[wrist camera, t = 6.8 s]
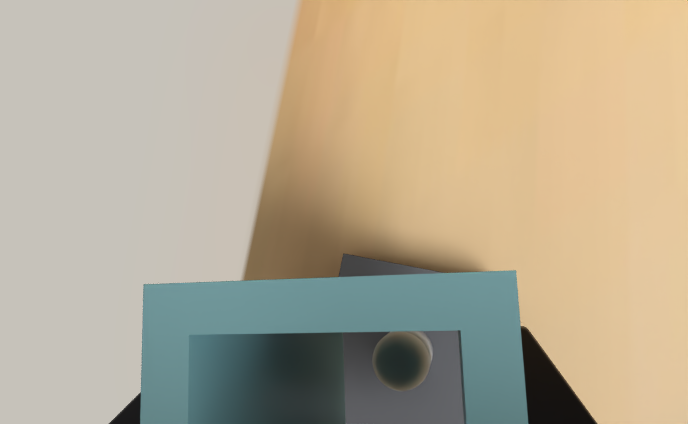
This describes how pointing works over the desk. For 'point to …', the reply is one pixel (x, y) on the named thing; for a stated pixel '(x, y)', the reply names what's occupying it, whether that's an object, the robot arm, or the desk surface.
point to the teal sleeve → (318, 344)
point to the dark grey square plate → (399, 366)
